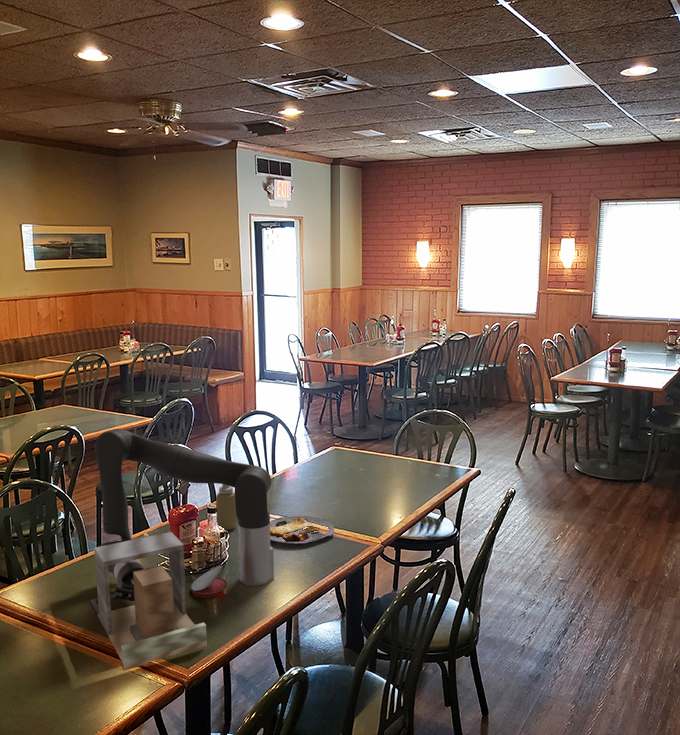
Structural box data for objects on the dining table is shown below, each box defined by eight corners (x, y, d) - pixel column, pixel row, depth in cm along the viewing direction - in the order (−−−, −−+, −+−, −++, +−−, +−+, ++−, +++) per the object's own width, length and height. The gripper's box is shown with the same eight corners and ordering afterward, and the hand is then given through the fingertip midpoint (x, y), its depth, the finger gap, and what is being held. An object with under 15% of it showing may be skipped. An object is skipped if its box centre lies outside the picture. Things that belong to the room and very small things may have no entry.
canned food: (214, 618, 198) (203, 596, 192) (188, 604, 203) (177, 583, 197) (240, 587, 205) (230, 565, 199) (215, 574, 210) (204, 552, 204)
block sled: (169, 620, 184) (166, 563, 181) (181, 636, 176) (178, 577, 174) (130, 631, 179) (126, 573, 176) (140, 648, 171) (136, 587, 169)
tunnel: (163, 589, 205) (160, 519, 202) (206, 646, 175) (203, 566, 172) (91, 607, 195) (86, 534, 192) (124, 670, 165) (118, 586, 162)
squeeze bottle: (242, 523, 253) (241, 474, 250) (233, 532, 246) (231, 482, 243) (221, 521, 255) (219, 473, 252) (211, 530, 248) (209, 480, 245)
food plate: (286, 554, 227) (286, 543, 227) (247, 533, 245) (246, 523, 245) (346, 536, 243) (347, 526, 243) (305, 517, 261) (305, 508, 261)
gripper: (105, 567, 191) (121, 593, 176) (154, 556, 198) (174, 581, 183) (106, 593, 192) (123, 622, 178) (155, 582, 199) (175, 608, 184)
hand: (148, 601), depth 180 cm, fingers closed
